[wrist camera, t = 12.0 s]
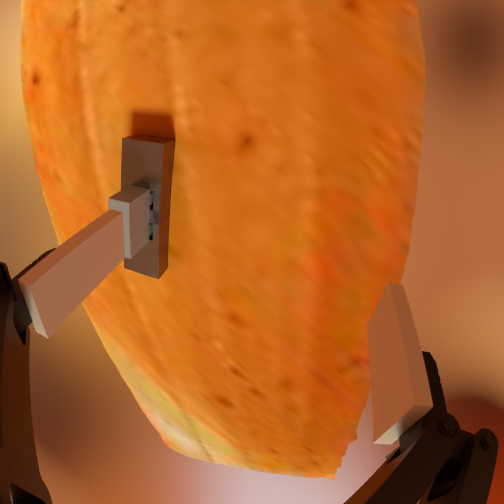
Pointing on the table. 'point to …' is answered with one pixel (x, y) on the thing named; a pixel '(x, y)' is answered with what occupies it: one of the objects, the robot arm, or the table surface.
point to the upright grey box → (134, 216)
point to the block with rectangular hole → (158, 180)
